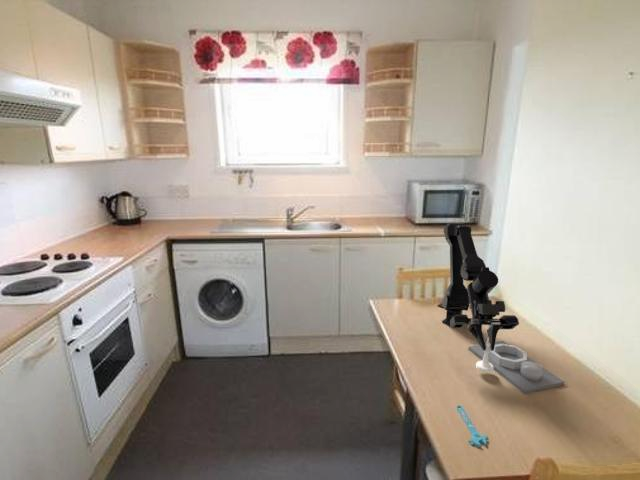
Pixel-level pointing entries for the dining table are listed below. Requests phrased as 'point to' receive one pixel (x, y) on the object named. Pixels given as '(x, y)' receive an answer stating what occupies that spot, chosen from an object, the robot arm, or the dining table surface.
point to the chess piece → (485, 360)
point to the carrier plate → (518, 368)
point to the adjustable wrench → (473, 430)
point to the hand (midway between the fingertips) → (488, 350)
